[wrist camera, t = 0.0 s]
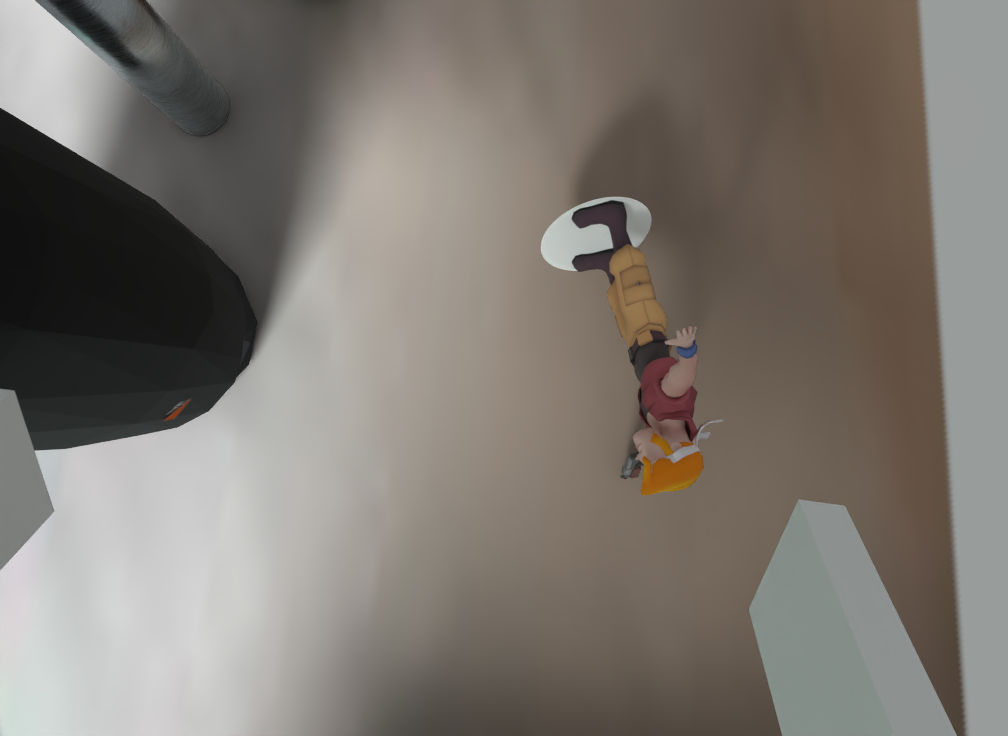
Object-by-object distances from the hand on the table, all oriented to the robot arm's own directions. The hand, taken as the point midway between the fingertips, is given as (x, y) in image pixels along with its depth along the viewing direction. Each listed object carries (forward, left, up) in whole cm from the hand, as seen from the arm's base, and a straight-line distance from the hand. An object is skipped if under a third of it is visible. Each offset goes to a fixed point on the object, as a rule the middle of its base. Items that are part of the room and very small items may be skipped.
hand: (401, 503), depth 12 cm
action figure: (+5, -5, -16) cm, 17 cm away
